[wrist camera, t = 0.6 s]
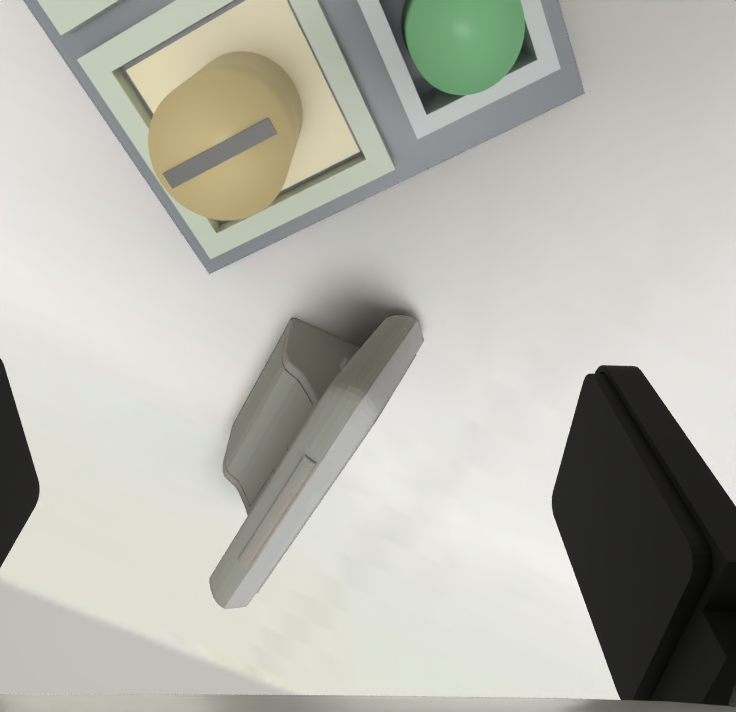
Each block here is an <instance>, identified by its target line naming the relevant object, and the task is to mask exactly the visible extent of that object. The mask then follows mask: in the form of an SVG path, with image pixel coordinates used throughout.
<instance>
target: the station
mask: <svg viewBox="0 0 736 712" xmlns="http://www.w3.org/2000/svg"><path fill="white" fill-rule="evenodd" d="M405 1H406V0H24V2H25V3H26V5H27V6H28V8H29V9H30V11H31V12H32V14H33V15H34V17H35V18H36V20H37V21H38V23H39V24H40V25H41V27H42V28H43V30H44V31H45V33H46V34H47V36H48V37H49V39H50V40H51V42H52V43H53V45H54V46H55V48H56V49H57V50H58V52H59V53H60V55H61V56H62V58H63V59H64V61H65V62H66V64H67V65H68V67H69V68H70V70H71V71H72V73H73V74H74V76H75V77H76V78H77V80H78V81H79V83H80V84H81V86H82V87H83V89H84V90H85V92H86V93H87V95H88V96H89V98H90V99H91V101H92V102H93V103H94V105H95V106H96V108H97V109H98V111H99V112H100V114H101V115H102V117H103V118H104V120H105V121H106V123H107V124H108V126H109V127H110V129H111V130H112V131H113V133H114V134H115V136H116V137H117V139H118V140H119V142H120V143H121V145H122V146H123V148H124V149H125V151H126V152H127V154H128V155H129V156H130V158H131V159H132V161H133V162H134V164H135V165H136V167H137V168H138V170H139V171H140V173H141V174H142V176H143V177H144V179H145V180H146V181H147V183H148V184H149V186H150V187H151V189H152V190H153V192H154V193H155V195H156V196H157V198H158V199H159V201H160V202H161V204H162V205H163V207H164V208H165V209H166V211H167V212H168V214H169V215H170V217H171V218H172V220H173V221H174V223H175V224H176V226H177V227H178V229H179V230H180V232H181V233H182V234H183V236H184V237H185V239H186V240H187V242H188V243H189V245H190V246H191V248H192V249H193V251H194V252H195V254H196V255H197V257H198V258H199V260H200V261H201V262H202V264H203V265H204V267H205V268H206V270H207V271H208V273H209V274H210V273H212V272H215V271H217V270H219V269H221V268H223V267H225V266H227V265H229V264H231V263H233V262H235V261H237V260H239V259H242V258H244V257H246V256H248V255H250V254H252V253H254V252H256V251H258V250H260V249H262V248H264V247H266V246H269V245H271V244H273V243H275V242H277V241H279V240H281V239H283V238H285V237H287V236H289V235H291V234H294V233H296V232H298V231H300V230H302V229H304V228H306V227H308V226H310V225H312V224H314V223H316V222H318V221H321V220H323V219H325V218H327V217H329V216H331V215H333V214H335V213H337V212H339V211H341V210H343V209H345V208H348V207H350V206H352V205H354V204H356V203H358V202H360V201H362V200H364V199H366V198H368V197H370V196H373V195H375V194H377V193H379V192H381V191H383V190H385V189H387V188H389V187H391V186H393V185H395V184H397V183H400V182H402V181H404V180H406V179H408V178H410V177H412V176H414V175H416V174H418V173H420V172H422V171H424V170H427V169H429V168H431V167H433V166H435V165H437V164H439V163H441V162H443V161H445V160H447V159H449V158H452V157H454V156H456V155H458V154H460V153H462V152H464V151H466V150H468V149H470V148H472V147H474V146H476V145H479V144H481V143H483V142H485V141H487V140H489V139H491V138H493V137H495V136H497V135H499V134H501V133H503V132H506V131H508V130H510V129H512V128H514V127H516V126H518V125H520V124H522V123H524V122H526V121H528V120H531V119H533V118H535V117H537V116H539V115H541V114H543V113H545V112H547V111H549V110H551V109H553V108H555V107H558V106H560V105H562V104H564V103H566V102H568V101H570V100H572V99H574V98H576V97H578V96H580V95H583V94H585V93H584V89H583V86H582V82H581V79H580V75H579V72H578V68H577V65H576V61H575V58H574V54H573V51H572V47H571V44H570V40H569V36H568V33H567V29H566V26H565V22H564V19H563V15H562V12H561V8H560V5H559V1H558V0H520V1H521V4H522V7H523V12H524V18H525V33H524V40H523V44H522V48H521V50H520V53H519V55H518V57H517V59H516V61H515V63H514V65H513V66H512V68H511V69H510V70H509V72H508V73H507V74H506V75H505V76H504V77H503V78H502V79H501V80H500V81H499V82H498V83H496V84H495V85H494V86H492V87H490V88H488V89H487V90H484V91H482V92H479V93H476V94H471V95H454V94H449V93H446V92H443V91H441V90H439V89H437V88H436V87H434V86H432V85H431V84H430V83H429V82H428V81H427V80H426V79H425V78H424V77H423V76H422V75H421V73H420V72H419V70H418V69H417V67H416V65H415V63H414V61H413V60H412V58H411V56H410V54H409V52H408V50H407V48H406V46H405V43H404V40H403V36H402V28H401V18H402V12H403V8H404V4H405Z"/></svg>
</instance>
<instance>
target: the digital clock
mask: <svg viewBox="0 0 736 712" xmlns="http://www.w3.org/2000/svg"><path fill="white" fill-rule="evenodd" d="M423 341H424V339H423V335H422V331H421V328H420V325H419V322H418V320H416V319H415V318H413V317H411V316H407V315H394V316H389V317H387V318H385V319H384V321H383V322H382V323H381V324H380V325H379V326H378V328H377V329H376V330H375V331H374V332H373V334H372V335H371V336H370V337H369V338H368V339H367V341H366V342H365V343H364V344H363V345H362V347H361V348H360V347H358V346H356V345H354V344H351V343H349V342H347V341H345V340H343V339H340V338H338V337H336V336H334V335H332V334H329V333H327V332H325V331H323V330H321V329H318V328H316V327H314V326H312V325H309V324H307V323H305V322H303V321H301V320H298V319H294V318H293V319H291V320H290V322H289V324H288V326H287V328H286V329H285V331H284V333H283V335H282V337H281V338H280V340H279V342H278V344H277V346H276V348H275V349H274V351H273V353H272V355H271V357H270V359H269V360H268V362H267V364H266V366H265V368H264V370H263V371H262V373H261V375H260V377H259V379H258V381H257V382H256V384H255V386H254V388H253V390H252V391H251V393H250V395H249V397H248V399H247V401H246V402H245V404H244V406H243V408H242V410H241V412H240V413H239V415H238V417H237V419H236V421H235V423H234V424H233V426H232V430H231V434H230V438H229V442H228V445H227V449H226V453H225V457H224V462H223V473H224V476H225V477H226V478H227V479H228V480H229V481H230V482H231V483H232V484H233V485H234V486H235V487H236V489H237V490H238V492H239V494H240V496H241V498H242V501H243V503H244V506H245V508H246V511H247V515H248V517H247V518H246V520H245V522H244V523H243V525H242V526H241V528H240V530H239V531H238V533H237V535H236V536H235V538H234V539H233V541H232V543H231V544H230V546H229V547H228V549H227V551H226V552H225V554H224V556H223V557H222V559H221V560H220V562H219V564H218V565H217V567H216V569H215V570H214V572H213V573H212V575H211V577H210V581H209V582H210V588H211V592H212V595H213V598H214V599H215V601H216V602H217V603H218V604H219V605H220V606H221V607H223V608H224V609H231V608H240V607H246V606H247V605H248V604H249V603H250V601H251V600H252V598H253V597H254V595H255V594H256V593H258V592H259V590H260V589H261V587H262V586H263V584H264V583H265V582H266V580H267V579H268V577H269V576H270V574H271V573H272V571H273V570H274V568H275V567H276V566H277V564H278V563H279V561H280V560H281V558H282V557H283V555H284V554H285V553H286V551H287V550H288V548H289V547H290V545H291V544H292V542H293V541H294V540H295V538H296V537H297V535H298V534H299V532H300V531H301V529H302V528H303V526H304V525H305V524H306V522H307V521H308V519H309V518H310V516H311V515H312V513H313V512H314V511H315V509H316V508H317V506H318V505H319V503H320V502H321V500H322V499H323V498H324V496H325V495H326V493H327V492H328V490H329V489H330V487H331V486H332V484H333V483H334V482H335V480H336V479H337V477H338V476H339V474H340V473H341V471H342V470H343V469H344V467H345V466H346V464H347V463H348V461H349V460H350V458H351V457H352V456H353V454H354V453H355V451H356V450H357V448H358V447H359V445H360V444H361V442H362V441H363V440H364V438H365V437H366V435H367V434H368V432H369V431H370V429H371V428H372V427H373V425H374V424H375V422H376V420H377V419H378V417H379V416H380V414H381V413H382V411H383V409H384V408H385V406H386V404H387V403H388V401H389V399H390V398H391V396H392V394H393V392H394V391H395V389H396V388H397V386H398V385H399V383H400V381H401V380H402V378H403V376H404V375H405V373H406V371H407V369H408V368H409V366H410V365H411V363H412V361H413V360H414V358H415V356H416V353H417V351H418V350H419V348H420V347H421V345H422V343H423Z"/></svg>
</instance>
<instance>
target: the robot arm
mask: <svg viewBox="0 0 736 712" xmlns="http://www.w3.org/2000/svg"><path fill="white" fill-rule="evenodd" d="M38 498H39V481H38V477H37V474H36V471H35V467H34V464H33V461H32V457H31V454H30V451H29V447H28V444H27V441H26V437H25V434H24V431H23V427H22V424H21V421H20V417H19V414H18V411H17V407H16V404H15V400H14V397H13V394H12V390H11V387H10V384H9V380H8V377H7V374H6V370H5V367H4V364H3V362H2V360H1V359H0V567H1V565H2V564H3V562H4V560H5V558H6V557H7V555H8V553H9V551H10V550H11V548H12V546H13V544H14V543H15V541H16V539H17V538H18V536H19V534H20V532H21V531H22V529H23V527H24V525H25V524H26V522H27V520H28V518H29V517H30V515H31V513H32V511H33V510H34V508H35V506H36V504H37V501H38ZM552 510H553V515H554V518H555V521H556V523H557V526H558V529H559V532H560V534H561V537H562V540H563V543H564V546H565V548H566V551H567V554H568V557H569V559H570V562H571V565H572V568H573V571H574V573H575V576H576V579H577V582H578V584H579V587H580V590H581V593H582V595H583V598H584V601H585V604H586V607H587V609H588V612H589V615H590V618H591V620H592V623H593V626H594V629H595V632H596V634H597V637H598V640H599V643H600V645H601V648H602V651H603V654H604V656H605V659H606V662H607V665H608V668H609V670H610V673H611V676H612V679H613V681H614V684H615V687H616V690H617V692H618V695H619V697H620V699H621V700H600V699H566V698H510V697H427V696H335V695H188V694H183V695H181V694H180V695H179V694H0V712H736V506H735V505H734V503H733V502H732V500H731V499H730V498H729V496H728V495H727V493H726V492H725V490H724V489H723V488H722V486H721V485H720V483H719V482H718V480H717V479H716V477H715V476H714V475H713V473H712V472H711V470H710V469H709V467H708V466H707V465H706V463H705V462H704V460H703V459H702V457H701V456H700V455H699V453H698V452H697V450H696V449H695V447H694V446H693V444H692V443H691V442H690V440H689V439H688V437H687V436H686V434H685V433H684V432H683V430H682V429H681V427H680V426H679V424H678V423H677V421H676V420H675V419H674V417H673V416H672V414H671V413H670V411H669V410H668V409H667V407H666V406H665V404H664V403H663V401H662V400H661V398H660V397H659V396H658V394H657V393H656V391H655V390H654V388H653V387H652V386H651V384H650V383H649V381H648V380H647V378H646V377H645V376H644V374H643V373H642V371H641V370H640V369H639V368H638V367H635V366H610V365H602V366H600V367H598V369H597V370H596V372H595V374H588V375H586V377H585V379H584V381H583V385H582V389H581V392H580V396H579V399H578V403H577V407H576V410H575V414H574V418H573V421H572V425H571V428H570V432H569V436H568V439H567V443H566V447H565V450H564V454H563V457H562V461H561V465H560V468H559V472H558V476H557V479H556V483H555V487H554V490H553V495H552Z"/></svg>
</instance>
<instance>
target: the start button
mask: <svg viewBox="0 0 736 712" xmlns="http://www.w3.org/2000/svg"><path fill="white" fill-rule="evenodd" d="M401 28H402V36H403V40H404V43H405V46H406V48H407V50H408V52H409V54H410V56H411V58H412V60H413V61H414V63H415V65H416V67H417V69H418V70H419V72H420V73H421V75H422V76H423V77H424V78H425V79H426V80H427V81H428V82H429V83H430V84H431V85H432V86H434V87H436V88H437V89H439V90H441V91H443V92H446V93H449V94H454V95H471V94H476V93H479V92H482V91H484V90H487V89H488V88H490V87H492V86H494V85H495V84H496V83H498V82H499V81H500V80H501V79H502V78H503V77H504V76H505V75H506V74H507V73H508V72H509V70H510V69H511V68H512V66H513V65H514V63H515V61H516V59H517V57H518V55H519V53H520V50H521V48H522V44H523V40H524V33H525V18H524V12H523V7H522V4H521V1H520V0H406V1H405V4H404V8H403V12H402V18H401Z"/></svg>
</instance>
